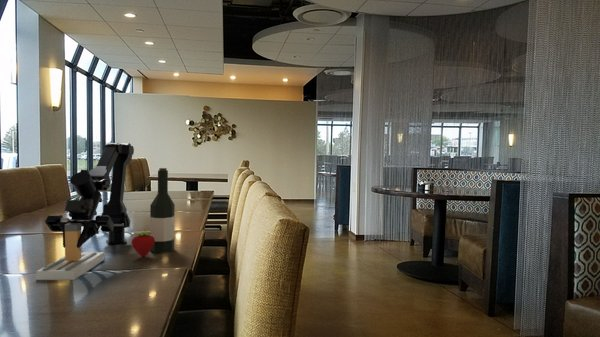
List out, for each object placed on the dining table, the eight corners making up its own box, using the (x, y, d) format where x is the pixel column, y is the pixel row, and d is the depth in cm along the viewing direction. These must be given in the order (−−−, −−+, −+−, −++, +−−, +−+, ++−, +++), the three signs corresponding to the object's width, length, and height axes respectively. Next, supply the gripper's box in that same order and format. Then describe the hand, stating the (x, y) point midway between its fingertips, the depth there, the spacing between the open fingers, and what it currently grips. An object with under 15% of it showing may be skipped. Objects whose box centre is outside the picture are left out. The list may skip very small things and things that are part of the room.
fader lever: (69, 258, 120) (69, 223, 120) (81, 258, 121) (81, 223, 120) (64, 260, 118) (64, 224, 117) (77, 260, 118) (77, 224, 118)
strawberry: (129, 256, 134) (129, 227, 134) (151, 253, 139) (151, 225, 138) (134, 260, 129) (134, 230, 129) (157, 257, 134) (157, 228, 134)
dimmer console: (72, 259, 129) (72, 250, 129) (104, 259, 130) (104, 250, 130) (36, 279, 109) (36, 268, 109) (74, 279, 110) (74, 268, 110)
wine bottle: (178, 248, 146) (179, 168, 145) (164, 254, 138) (165, 169, 137) (160, 246, 149) (161, 167, 147) (144, 251, 141) (145, 168, 140)
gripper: (47, 189, 121) (26, 231, 111) (110, 190, 123) (94, 232, 112) (61, 210, 130) (42, 252, 119) (119, 211, 131) (106, 252, 121)
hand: (70, 247), depth 118 cm, fingers closed on fader lever, 3 cm apart
